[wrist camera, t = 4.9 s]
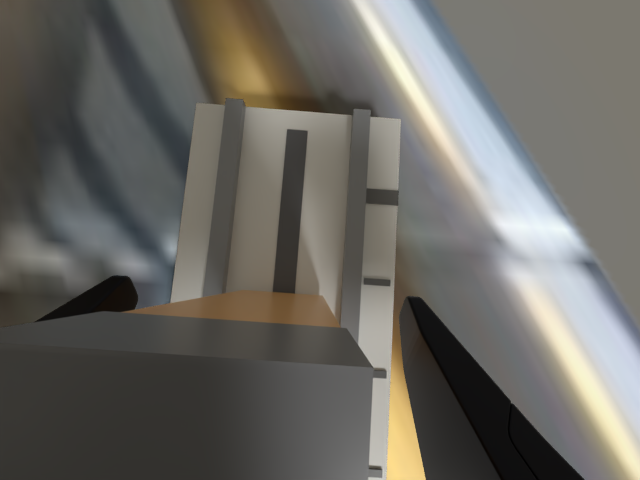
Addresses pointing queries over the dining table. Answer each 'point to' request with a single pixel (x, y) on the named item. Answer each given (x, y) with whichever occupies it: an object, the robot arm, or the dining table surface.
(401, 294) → the dining table surface
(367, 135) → the dimmer console
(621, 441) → the dining table surface
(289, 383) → the fader lever
